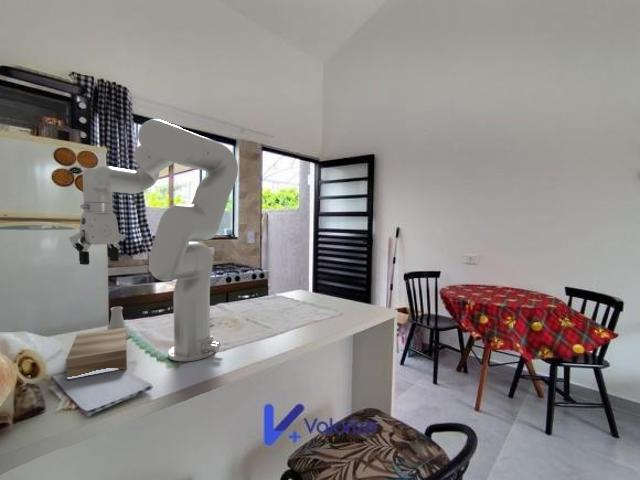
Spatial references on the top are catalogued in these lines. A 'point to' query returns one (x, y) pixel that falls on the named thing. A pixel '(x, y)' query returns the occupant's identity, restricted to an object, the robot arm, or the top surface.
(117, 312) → the flask
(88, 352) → the walnut riser
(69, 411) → the top surface
